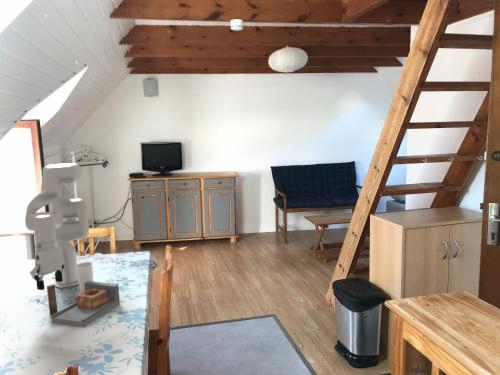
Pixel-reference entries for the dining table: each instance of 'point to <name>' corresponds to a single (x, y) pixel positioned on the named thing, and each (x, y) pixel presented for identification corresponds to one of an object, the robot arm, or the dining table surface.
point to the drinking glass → (84, 274)
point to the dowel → (52, 299)
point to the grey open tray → (85, 315)
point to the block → (92, 298)
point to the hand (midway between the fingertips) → (50, 285)
